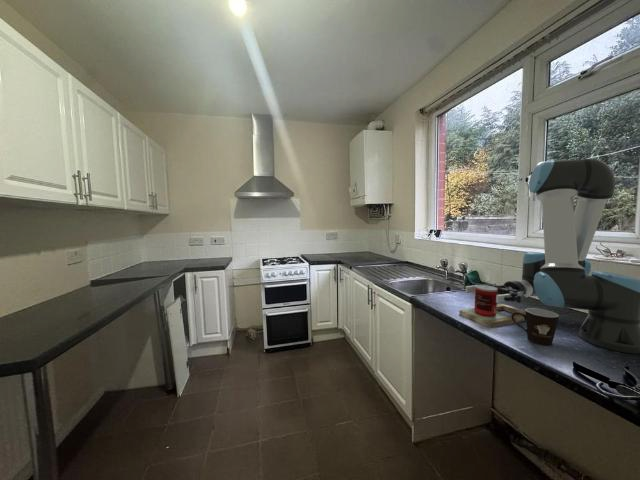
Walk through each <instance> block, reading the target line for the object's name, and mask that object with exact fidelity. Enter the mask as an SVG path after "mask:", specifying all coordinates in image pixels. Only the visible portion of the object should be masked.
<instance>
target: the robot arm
mask: <svg viewBox="0 0 640 480" xmlns="http://www.w3.org/2000/svg"><path fill="white" fill-rule="evenodd" d="M528 189H529V192H530V193H532V194H535V195H536V200H538V201H540V202H541V206H542V207H541V208H542V209H541V210H542V226H543V227H542V228H543V245H544V246H543V247H544V248H543V249H544V252H539V251H538V252H537V251H526V252H524V254H523V256H522V257H523V259H522V274H521V279H516V280H511V281H509V280H508V281H506V282H504V283H503V284H502V285H501V284H500V285H498V284H496V283H472V285H467V286H465V293H466V294H469V293H475V289H476V286H477V285H488V286H493V287H496V288H497V289H498V295H497V296H496V302H497V304H502V303H506V302H515V301H516V303H517V304H520V303H522V301H523V300H524V299H526V298H530V297H537V298H538V300H539V301H540V302H541V303H542V304H543V305H544V306H547V307H548V306H549V307H555V308H561V309H562V308H563V309H564V308H565V309H575V310H585V311H588V312H587V316H586V318H585V319H584V321H583V323H582V324H581V326H580V327H579V331H578V336H579V338H581V339H582V340H583V341H586V342H588V343H589V344H592V345H595V346H597V347H599V348H600V347H601V348H603V349H607V350H611V351H615V352H622V353H627V354H635V355H637V354H640V279H638V278H636V277H633V276H628V275H625V274H618V273H613V272H608V271H601V270H593V271H592V269H591V268H592V265H591V262H590V260H588V259H586V258H587V256H588V254H589V252H590V248H591V245H592V242H593V240H594V237H595V234H596V231H597V228H598V226H599V224H600V220H601V217H602V215H603V213H604V210H605V209H604V208H605V206H606V204H607V201H609V200H611V199H613V197H614V193H615V189H616V177H615V175H614V172H613V170H612V169H611V168H610V166H609V165H608V164H606V163H605V162H604V161H601V160H599V159H596V158H579V159H577V158H576V159H561V160H559V159H558V160H555V159H554V160H553V159H552V160H548V161H547V160H546V161H540V162H538V163H537V164H536V166H534V168H533V171H532V172H531V174H530V178H529V183H528ZM576 197H577V202H576V205H575V208H574V198H576ZM591 271H592V272H591Z"/></svg>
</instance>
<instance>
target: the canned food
mask: <svg viewBox="0 0 640 480" xmlns="http://www.w3.org/2000/svg"><path fill="white" fill-rule="evenodd" d="M497 295H499V294H498V289H497V288H496V287H493V286H488V285H477V286H476V289H475V292H474V307H473V308H474V310H475V313H476V314H478V315H481V316H486V317H494V316H495V315H496V310H497V304H498V303H497V302H496V296H497Z"/></svg>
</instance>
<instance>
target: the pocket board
mask: <svg viewBox="0 0 640 480" xmlns="http://www.w3.org/2000/svg"><path fill="white" fill-rule="evenodd" d="M474 308H475V307H472V308H471V307H470V308H466V309H465V308H464V309H459V313H458V314H459V316H461V317H464V318H466V319H469V320H470V321H474V322H476V323H478V324H480V325H483V326H485V327H488V328H490V329H491V328H496V327H501V326H505V325H506V326H507V325H511V324H512V325H513V324H516V323H515V322H514V321H513V320H512V315H509V314H506V313H503V312H501V311H505V312H508V313H511V314H513V313H517V312H519V313H522V314H524V315H526V310H524V309H521V308H517V307H514V306H511V305H508V304H505V303H497V310H496V315H495V316H494V317H486V316H481V315H478V314H476V313H475V310H474ZM513 319H514V320H515V321H516V322H517V323H521V322H526V320H525V318H524V317H523V316H522V315H520V314H516V315H514V317H513Z"/></svg>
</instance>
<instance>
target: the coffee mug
mask: <svg viewBox="0 0 640 480" xmlns="http://www.w3.org/2000/svg"><path fill="white" fill-rule="evenodd" d="M524 311H526V315H524V314H522V313H519V312H517V313H511V314H512V315H511V316H512V320H513V321H514V322H515V323H514V324H515V325H517V326H518V327H519V328H521V330H524V331H525V333H526V334H527V335H526V337H527V340H528V341H529V342H531V343H533V344H535V345H540V346H544V347H550V346H552V345H553V343H554V339H555V338H554V337H555V334H556V330H557V326H558V321H559V319H560V315H559V314H558V313H557V312H554V311H551V310H548V309H543V308H537V307H528V308H525V310H524ZM517 314H520V315H522V316H523V317H524V318H525V320H526V321H525V322H526V328H525V327H524V326H522V325H520V324H519V322H516V321H515V320H514V319H513V317H514V315H517Z"/></svg>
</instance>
